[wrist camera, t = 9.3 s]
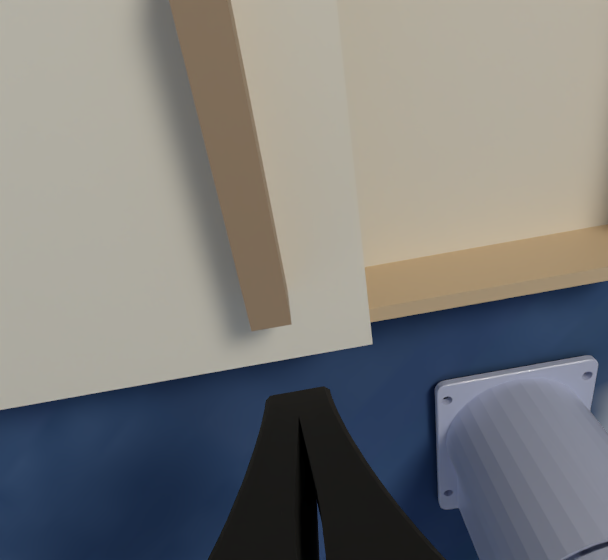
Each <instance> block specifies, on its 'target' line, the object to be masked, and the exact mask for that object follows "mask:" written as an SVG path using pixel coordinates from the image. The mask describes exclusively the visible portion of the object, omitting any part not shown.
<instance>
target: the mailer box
mask: <svg viewBox="0 0 608 560" xmlns="http://www.w3.org/2000/svg"><path fill="white" fill-rule="evenodd" d="M337 9H338V19H339V28H340V38H341V48H342V57H343V67H344V76H345V86H346V95H347V105H348V114H349V124H350V133H351V143H352V152H353V162H354V171H355V181H356V190H357V200H358V210H359V219H360V229H361V238H362V248H363V257H364V267H365V276H366V286H367V295H368V305H369V314H370V322H376V321H382V320H387V319H393V318H398V317H404V316H410V315H415V314H421V313H427V312H432V311H438V310H444V309H449V308H455V307H461V306H466V305H472V304H478V303H483V302H489V301H495V300H500V299H506V298H512V297H517V296H523V295H529V294H534V293H540V292H546V291H551V290H557V289H563V288H568V287H574V286H579V285H585V284H591V283H596V282H602V281H608V0H337Z"/></svg>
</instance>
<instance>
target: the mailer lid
mask: <svg viewBox="0 0 608 560" xmlns="http://www.w3.org/2000/svg"><path fill="white" fill-rule="evenodd" d="M370 344H373V343H372V333H371V324H370V314H369V305H368V295H367V286H366V276H365V267H364V257H363V248H362V238H361V229H360V219H359V210H358V200H357V190H356V181H355V171H354V162H353V152H352V143H351V133H350V124H349V114H348V105H347V95H346V86H345V76H344V67H343V57H342V48H341V38H340V28H339V19H338V9H337V0H0V410H3V409H9V408H14V407H20V406H26V405H31V404H37V403H43V402H48V401H54V400H59V399H65V398H71V397H76V396H82V395H88V394H93V393H99V392H105V391H110V390H116V389H122V388H127V387H133V386H139V385H144V384H150V383H156V382H161V381H167V380H173V379H178V378H184V377H190V376H195V375H201V374H206V373H212V372H218V371H223V370H229V369H235V368H240V367H246V366H252V365H257V364H263V363H269V362H274V361H280V360H286V359H291V358H297V357H303V356H308V355H314V354H320V353H325V352H331V351H336V350H342V349H348V348H353V347H359V346H365V345H370Z"/></svg>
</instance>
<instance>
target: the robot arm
mask: <svg viewBox="0 0 608 560" xmlns="http://www.w3.org/2000/svg"><path fill="white" fill-rule="evenodd" d="M597 369H598V362H597V361H596V360H595V359H594V358H593V356H590V355H585V356H580V357H574V358H568V359H563V360H557V361H551V362H546V363H540V364H535V365H529V366H523V367H518V368H512V369H506V370H501V371H495V372H489V373H484V374H478V375H472V376H467V377H461V378H456V379H450V380H444V381H441V382H440V383H438V384H437V385H436V387H435V416H436V449H437V481H438V502H439V505H440V507H441V508H442V509H445V510H449V509H454V508H459V510H460V512H461V515H462V517H463V520H464V522H465V525H466V527H467V530H468V532H469V535H470V537H471V540H472V542H473V545H474V547H475V550H476V552H477V555H478V557H479V560H608V433H607V432H606V430H605V429H604V428H603V427H602V426H601V424H600V423H599V422H598V421H597V419H596V418H595V417H594V416H593V414H592V413H591V412H590V409H591V403H592V397H593V392H594V386H595V380H596V375H597ZM585 372H586V373H585ZM584 373H585V374H584ZM444 397H448V398H446V399H443V398H444ZM317 503H318V507H319V512H320V516H321V520H322V527H323V535H324V544H325V552H326V560H446V559H445V558H444V557H443V556H442V555H441V554H440V553H439V552H438V551H437V549H436V548H435V547H434V546H433V545H432V544H431V543H430V542H429V541H428V539H427V538H426V537H425V536H424V535H423V534H422V533H421V532H420V530H419V529H418V528H417V527H416V526H415V525H414V523H413V522H412V521H411V520H410V519H409V517H408V516H407V515H406V514H405V513H404V511H403V510H402V509H401V508H400V506H399V505H398V504H397V503H396V501H395V500H394V499H393V497H392V496H391V495H390V494H389V492H388V491H387V490H386V488H385V487H384V485H383V484H382V483H381V481H380V480H379V479H378V477H377V476H376V474H375V473H374V472H373V470H372V469H371V467H370V466H369V464H368V463H367V461H366V460H365V458H364V457H363V455H362V453H361V452H360V450H359V449H358V447H357V445H356V444H355V442H354V441H353V439H352V437H351V436H350V434H349V432H348V430H347V429H346V427H345V425H344V423H343V421H342V419H341V417H340V415H339V413H338V411H337V409H336V406H335V404H334V402H333V399H332V396H331V393H330V390H329V389H328V388H326V387H318V388H312V389H307V390H301V391H295V392H290V393H284V394H278V395H273V396H270V397H269V398H268V399H267V400H266V404H265V410H264V415H263V419H262V424H261V427H260V431H259V435H258V438H257V441H256V445H255V448H254V451H253V454H252V457H251V460H250V463H249V466H248V469H247V471H246V474H245V477H244V480H243V482H242V485H241V487H240V490H239V492H238V495H237V497H236V500H235V502H234V504H233V507H232V509H231V512H230V514H229V516H228V519H227V521H226V523H225V525H224V527H223V530H222V532H221V534H220V536H219V538H218V540H217V542H216V544H215V546H214V548H213V550H212V552H211V554H210V556H209V558H208V560H319V540H318V518H317Z"/></svg>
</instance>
